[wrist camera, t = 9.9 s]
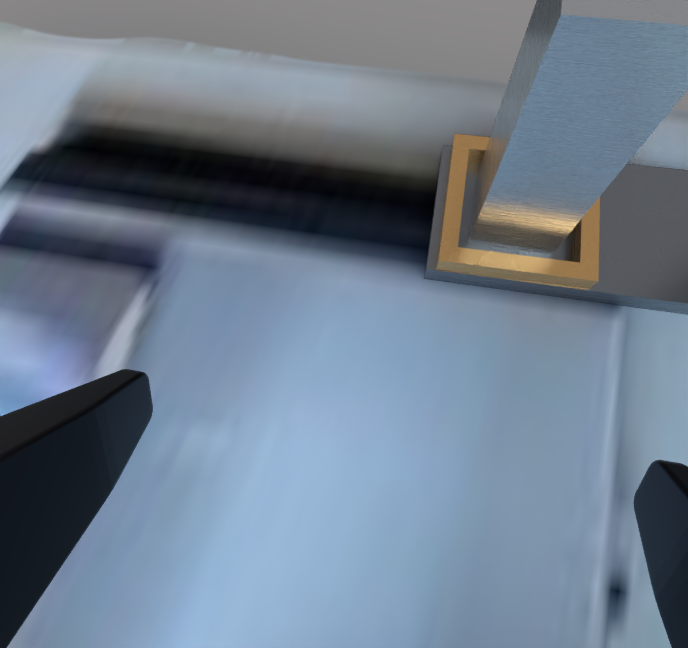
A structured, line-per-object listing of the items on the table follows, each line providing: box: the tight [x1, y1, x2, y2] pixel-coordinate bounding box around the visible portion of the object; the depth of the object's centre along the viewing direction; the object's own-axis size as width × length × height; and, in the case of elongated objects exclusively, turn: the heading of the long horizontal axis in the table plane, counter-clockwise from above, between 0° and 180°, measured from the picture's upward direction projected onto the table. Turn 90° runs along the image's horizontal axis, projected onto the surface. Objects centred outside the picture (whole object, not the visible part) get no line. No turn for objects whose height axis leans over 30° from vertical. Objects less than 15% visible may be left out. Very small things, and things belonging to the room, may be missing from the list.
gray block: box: [468, 0, 688, 254], centre depth 17 cm, size 4×4×12 cm
